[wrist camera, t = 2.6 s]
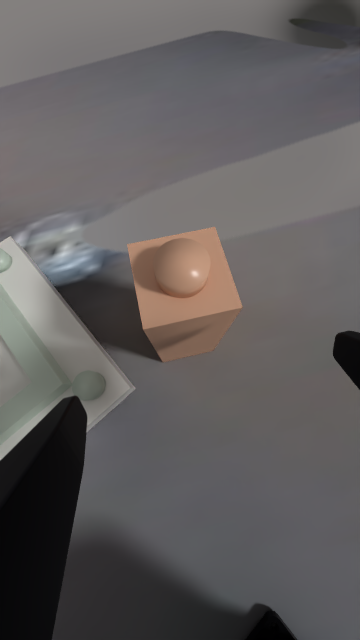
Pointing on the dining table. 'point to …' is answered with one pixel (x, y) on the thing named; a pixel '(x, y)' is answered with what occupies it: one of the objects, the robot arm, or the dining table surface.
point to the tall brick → (184, 292)
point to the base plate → (46, 353)
